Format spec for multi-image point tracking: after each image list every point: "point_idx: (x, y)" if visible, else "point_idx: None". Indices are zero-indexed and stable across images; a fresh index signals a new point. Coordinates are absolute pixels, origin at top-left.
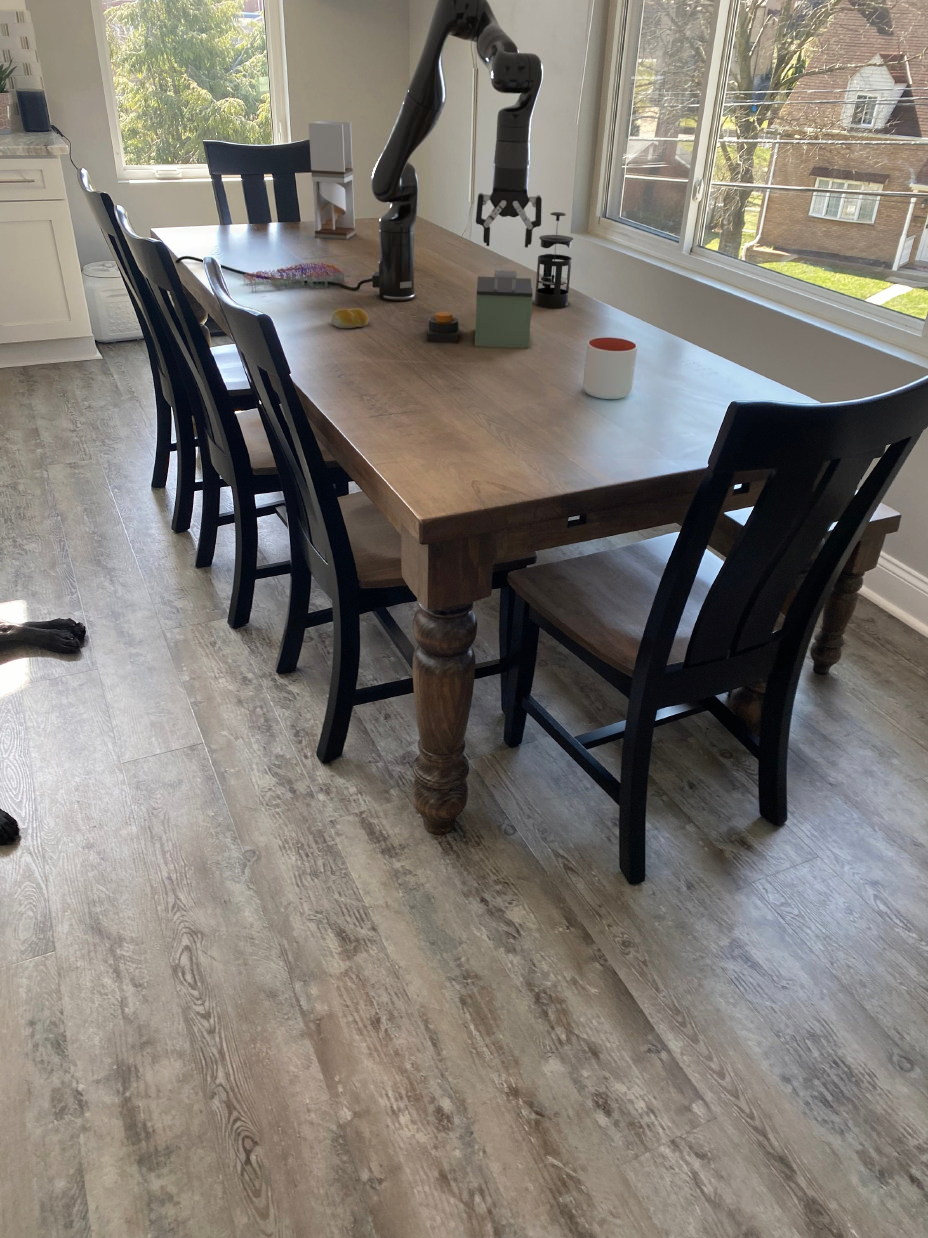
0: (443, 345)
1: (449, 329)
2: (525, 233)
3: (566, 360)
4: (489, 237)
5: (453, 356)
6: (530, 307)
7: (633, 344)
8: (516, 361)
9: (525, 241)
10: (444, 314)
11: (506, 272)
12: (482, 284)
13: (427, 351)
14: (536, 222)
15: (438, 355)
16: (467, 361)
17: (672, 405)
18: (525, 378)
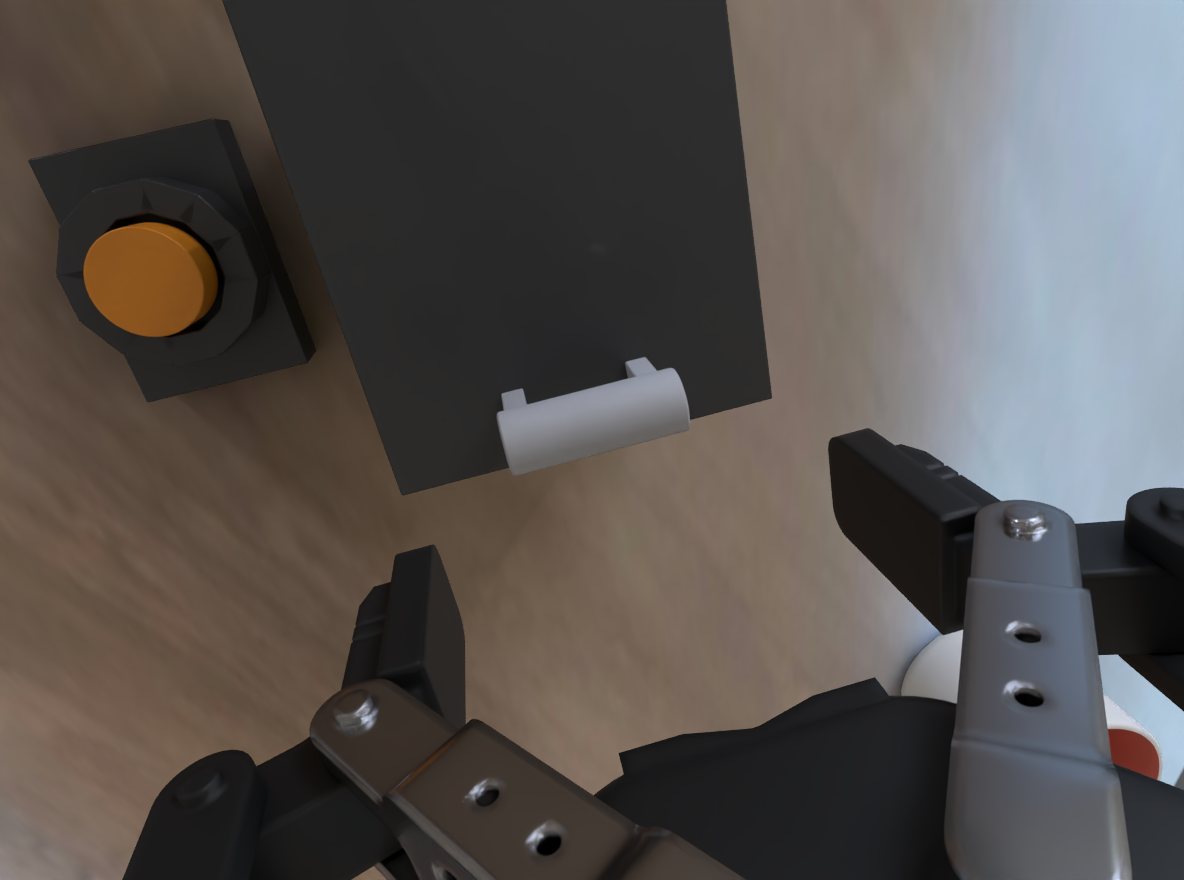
0: (268, 410)
1: (242, 335)
2: (898, 493)
3: (842, 409)
4: (464, 693)
5: (380, 540)
6: None
7: (1152, 749)
8: (648, 499)
9: (867, 555)
10: (158, 300)
11: (608, 450)
12: (371, 289)
13: (240, 522)
14: (1146, 665)
15: (313, 552)
16: (458, 574)
17: (1127, 686)
18: (708, 655)
